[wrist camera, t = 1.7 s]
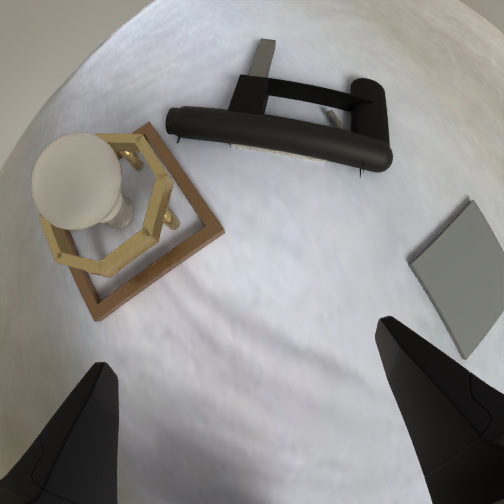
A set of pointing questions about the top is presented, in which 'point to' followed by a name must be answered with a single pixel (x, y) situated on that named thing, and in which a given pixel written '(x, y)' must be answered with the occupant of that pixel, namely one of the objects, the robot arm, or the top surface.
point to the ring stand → (151, 227)
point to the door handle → (289, 130)
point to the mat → (464, 278)
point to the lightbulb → (80, 184)
